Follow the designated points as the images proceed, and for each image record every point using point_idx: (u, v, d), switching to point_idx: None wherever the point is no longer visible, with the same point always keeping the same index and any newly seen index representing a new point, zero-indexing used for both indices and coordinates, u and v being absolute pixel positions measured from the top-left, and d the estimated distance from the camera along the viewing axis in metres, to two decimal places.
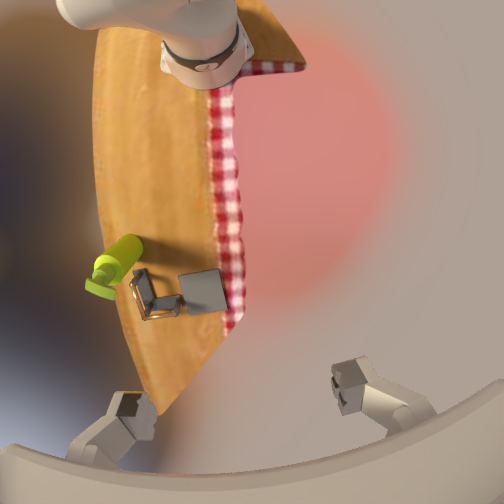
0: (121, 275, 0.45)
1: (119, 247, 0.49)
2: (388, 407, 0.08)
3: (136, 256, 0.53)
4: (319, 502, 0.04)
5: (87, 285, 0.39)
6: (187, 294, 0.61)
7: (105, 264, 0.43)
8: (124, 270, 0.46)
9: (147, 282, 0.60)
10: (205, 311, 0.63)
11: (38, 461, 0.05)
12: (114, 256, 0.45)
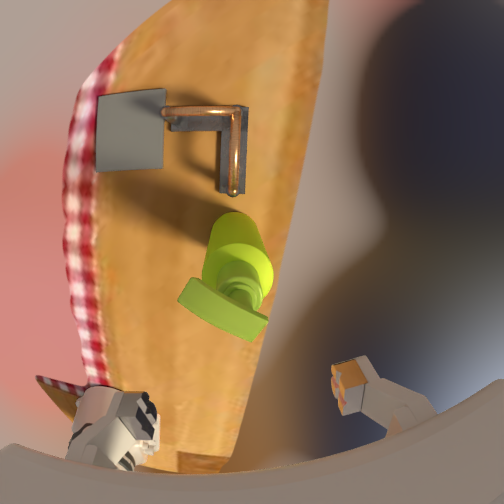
0: (208, 262, 0.22)
1: None
2: (388, 407, 0.08)
3: (209, 239, 0.30)
4: (319, 502, 0.04)
5: (255, 329, 0.17)
6: (155, 131, 0.30)
7: None
8: None
9: (222, 166, 0.32)
10: (134, 94, 0.28)
11: (38, 461, 0.05)
12: None
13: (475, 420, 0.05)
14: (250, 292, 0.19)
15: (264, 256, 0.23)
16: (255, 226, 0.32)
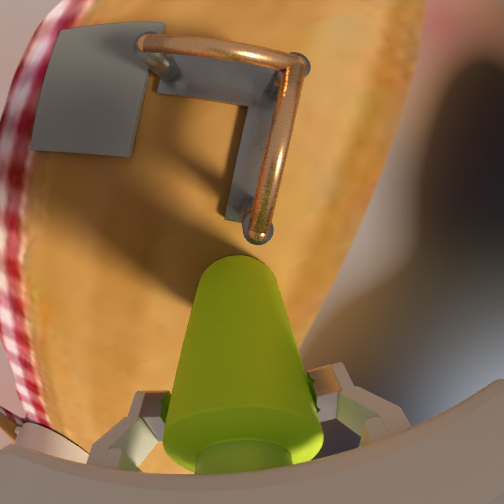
0: (178, 427, 0.08)
1: None
2: (362, 416, 0.08)
3: (192, 310, 0.15)
4: (319, 502, 0.04)
5: None
6: (129, 89, 0.15)
7: None
8: (169, 412, 0.09)
9: (238, 172, 0.17)
10: (111, 28, 0.13)
11: (38, 461, 0.05)
12: None
13: (475, 420, 0.05)
14: None
15: (315, 428, 0.08)
16: (280, 294, 0.17)
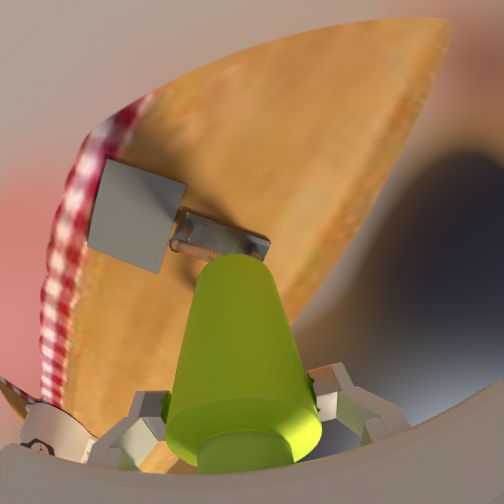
0: (180, 420, 0.08)
1: None
2: (362, 416, 0.08)
3: (191, 307, 0.16)
4: (319, 502, 0.04)
5: None
6: (160, 232, 0.28)
7: None
8: (171, 405, 0.09)
9: None
10: (148, 176, 0.26)
11: (38, 461, 0.05)
12: None
13: (475, 420, 0.05)
14: None
15: (314, 419, 0.08)
16: (277, 291, 0.18)
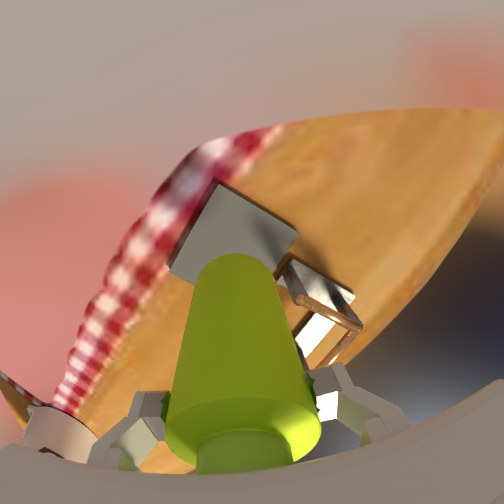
0: (179, 419, 0.08)
1: None
2: (362, 416, 0.08)
3: (191, 307, 0.16)
4: (319, 502, 0.04)
5: None
6: None
7: None
8: (170, 405, 0.09)
9: (300, 335, 0.31)
10: (262, 215, 0.27)
11: (38, 461, 0.05)
12: None
13: (475, 420, 0.05)
14: None
15: (313, 418, 0.08)
16: (276, 291, 0.18)
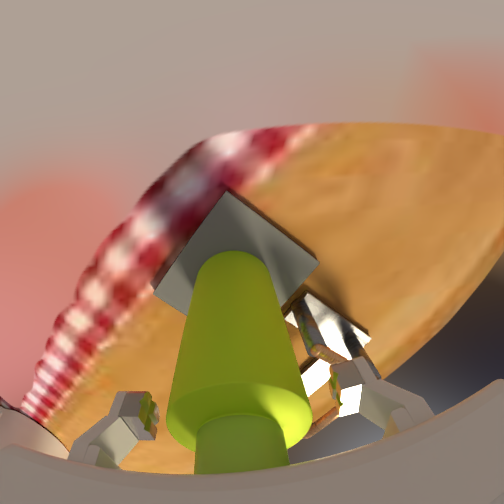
0: (180, 404, 0.09)
1: None
2: (385, 408, 0.08)
3: (191, 302, 0.17)
4: (319, 502, 0.04)
5: None
6: None
7: None
8: (172, 392, 0.10)
9: (302, 377, 0.26)
10: (278, 237, 0.21)
11: (38, 461, 0.05)
12: None
13: (475, 420, 0.05)
14: None
15: (304, 405, 0.09)
16: (273, 286, 0.19)
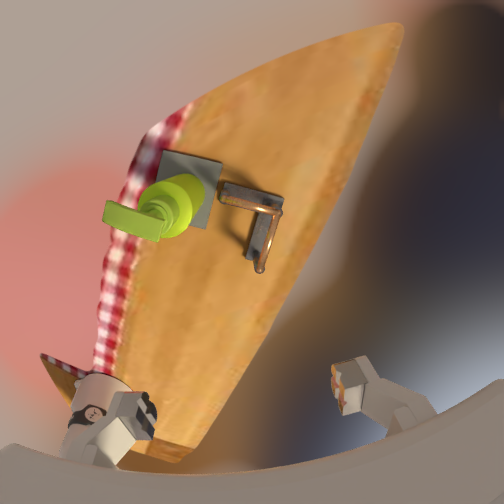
0: (139, 203, 0.27)
1: None
2: (388, 407, 0.08)
3: None
4: (319, 502, 0.04)
5: (155, 229, 0.21)
6: (206, 198, 0.40)
7: None
8: None
9: (252, 240, 0.43)
10: (195, 160, 0.38)
11: (38, 461, 0.05)
12: None
13: (475, 420, 0.05)
14: (160, 209, 0.24)
15: (179, 187, 0.27)
16: (194, 179, 0.36)
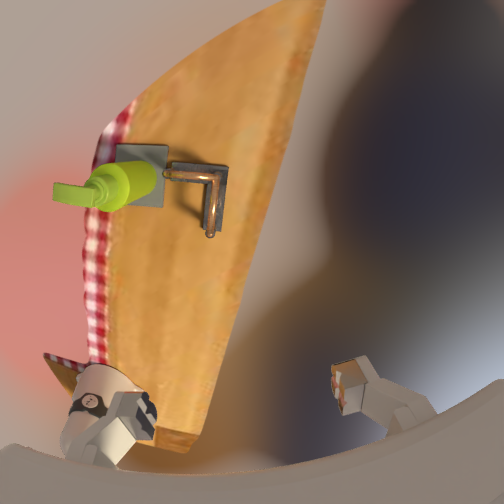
0: None
1: None
2: (388, 407, 0.08)
3: None
4: (319, 502, 0.04)
5: (88, 197, 0.24)
6: (158, 178, 0.42)
7: None
8: None
9: (206, 210, 0.45)
10: (144, 147, 0.41)
11: (38, 461, 0.05)
12: (101, 209, 0.31)
13: (475, 420, 0.05)
14: (96, 184, 0.26)
15: (116, 166, 0.29)
16: (142, 163, 0.39)
